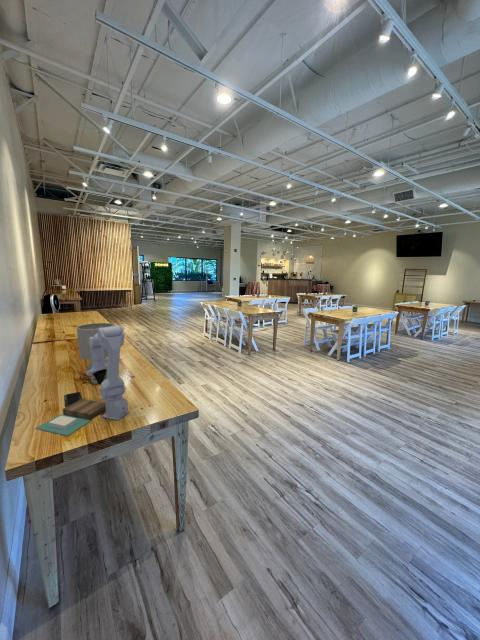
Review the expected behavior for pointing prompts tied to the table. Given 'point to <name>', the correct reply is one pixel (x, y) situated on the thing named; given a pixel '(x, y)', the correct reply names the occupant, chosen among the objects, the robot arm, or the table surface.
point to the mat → (68, 431)
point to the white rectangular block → (62, 422)
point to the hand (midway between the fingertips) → (100, 383)
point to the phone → (72, 398)
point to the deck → (85, 409)
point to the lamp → (84, 347)
